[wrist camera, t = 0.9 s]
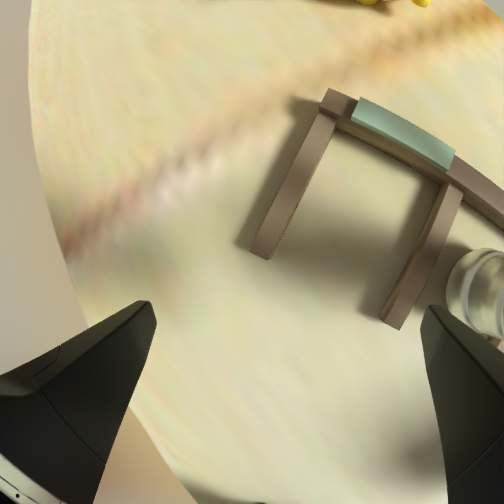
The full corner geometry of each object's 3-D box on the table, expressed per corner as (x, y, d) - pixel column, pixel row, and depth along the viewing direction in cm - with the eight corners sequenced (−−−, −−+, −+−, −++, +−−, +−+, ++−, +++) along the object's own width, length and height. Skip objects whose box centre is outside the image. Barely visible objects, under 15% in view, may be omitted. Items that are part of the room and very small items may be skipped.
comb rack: (481, 371, 21) (499, 387, 17) (254, 249, 25) (243, 252, 21) (541, 241, 19) (564, 241, 16) (327, 103, 23) (329, 82, 19)
